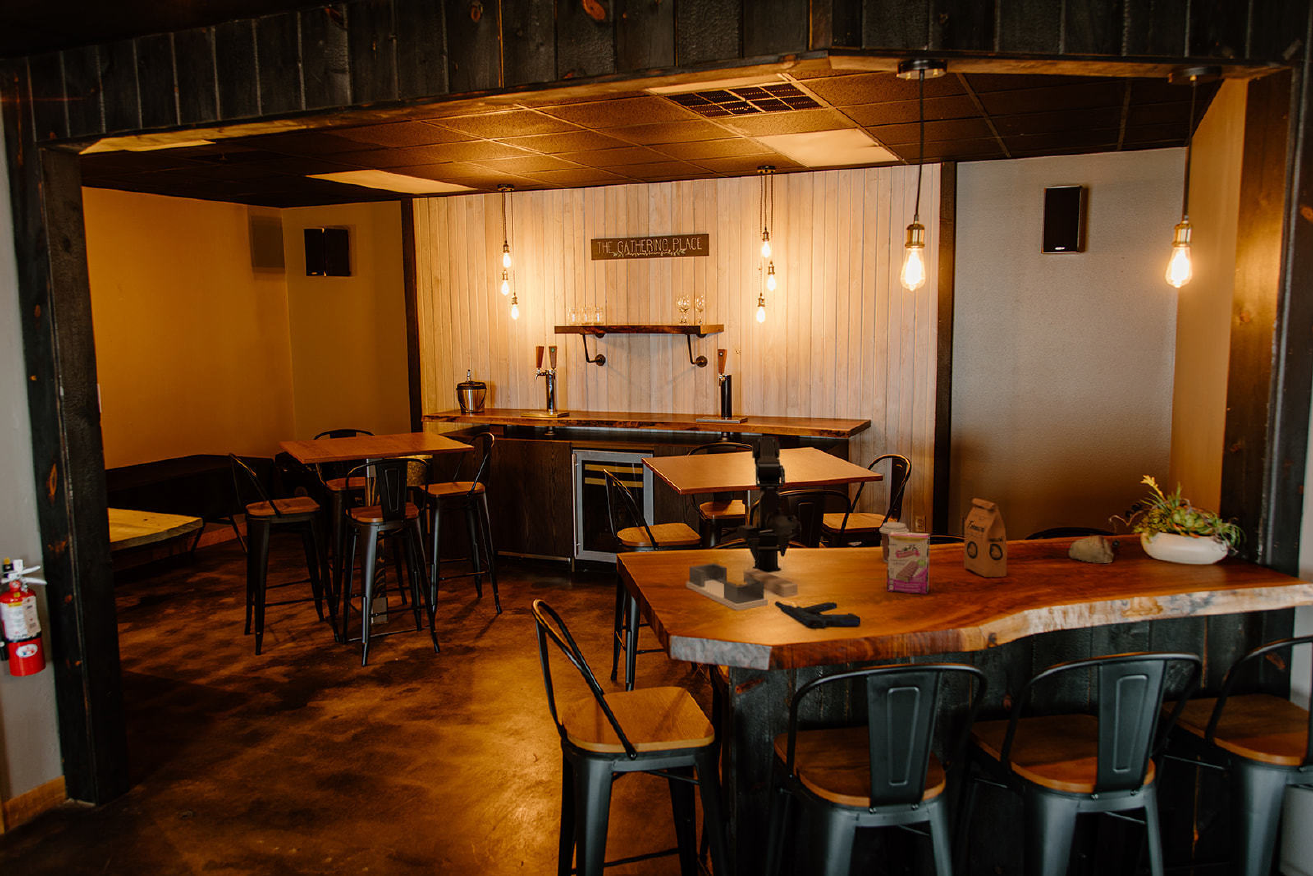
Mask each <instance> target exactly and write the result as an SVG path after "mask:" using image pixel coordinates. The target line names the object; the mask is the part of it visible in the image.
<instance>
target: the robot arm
mask: <svg viewBox="0 0 1313 876" xmlns="http://www.w3.org/2000/svg"><path fill="white" fill-rule="evenodd" d="M775 439H776V437H773V436H760V437H758V439H757V440H756V441H754V442H752V447H751V449H752V451H751V454H752V455H751V456H752V457H751V458H752V459H754V466H755V468H754V469H755V470H754V471H755V487H756V488H758V507H756V512H758V513H759V514H758V520H757V521H756V526H753V525H751V524H747V525H739V526H738V528H737V529H736V536H738V537H740V539H743V540H744V542H745V543H746V546H747V547H748V549H749V551H750V553H751V555H752V558H753V560H754V565H753V566H752V569H758V570H761V571H764V572H766V573H770V572H775V571H781V570H782V567H779V553H780V556H781V557H785V556H786V552H787V549H788V546H789V543H790V541H791V539H792V538H793V537H795V536H797V535H798V533H801V532H802V526H801V523H800V522H799V521H798V519H797V517H796V516H795V515H789V516H784V513H783V509H782V508H780V507H781V504H782V499H781V495H780V488H784V484H786V471H785V468H784V466H783V464H781V462H780V454H781V452H780V451H781V450H780V442H779V441H777V440H775Z"/></svg>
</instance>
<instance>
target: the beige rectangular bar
mask: <svg viewBox="0 0 1313 876" xmlns="http://www.w3.org/2000/svg"><path fill="white" fill-rule="evenodd" d="M750 577H751V578H753V579H755V580H758V581H760V582H763V583H764V591H767V592H769V593H772V594H775V595H777V596H779V597H782V598H790V597H796V596H798V584H797V583H795V582H793V581H790V580H787V579H785V578H782V577H779V576H776V575H774V574H772V573H770V572H764V571H761V570H758V569H754V568H752V569H746V570H743V582H745V583H747V578H750Z"/></svg>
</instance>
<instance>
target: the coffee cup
mask: <svg viewBox="0 0 1313 876" xmlns="http://www.w3.org/2000/svg"><path fill="white" fill-rule="evenodd" d="M878 531H879V532H880V533H881V544H882V545H881V546H882V556H883V559H882V560H883V563H886V564H888V535H889V532H890V531H892V532H907V533H910V530H909V529H908V528H907V524H905V523H904V522H903V523H902V522H898V521H897V522H896V521H888V522H884V523H882V526H881V527H880V528H879V530H878Z"/></svg>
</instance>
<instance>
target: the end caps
mask: <svg viewBox="0 0 1313 876" xmlns="http://www.w3.org/2000/svg"><path fill="white" fill-rule="evenodd" d="M727 571H728V569H727V567H726V566H723V565H720V564H718V563H716V562H713V563H705V564H701V565H694V566H689V581H690V583H693V584H695V585H697V586H699V587H705V581H710V580H716V581H718V582H721V583H723V584H724V598H725V599H727V600H729V601H731V602H734V603H736V604H741V603H746V602H751V601H757V600H762V599H764V598H765V590H764V583H763V582H760V581H758V580H755V579H753V578H751V577H750V578H747V582H746V583H744V584H739V585H738V584H735V583H733V582H730V581H728V577H727V576H728V575H727V574H728V572H727Z"/></svg>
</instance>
